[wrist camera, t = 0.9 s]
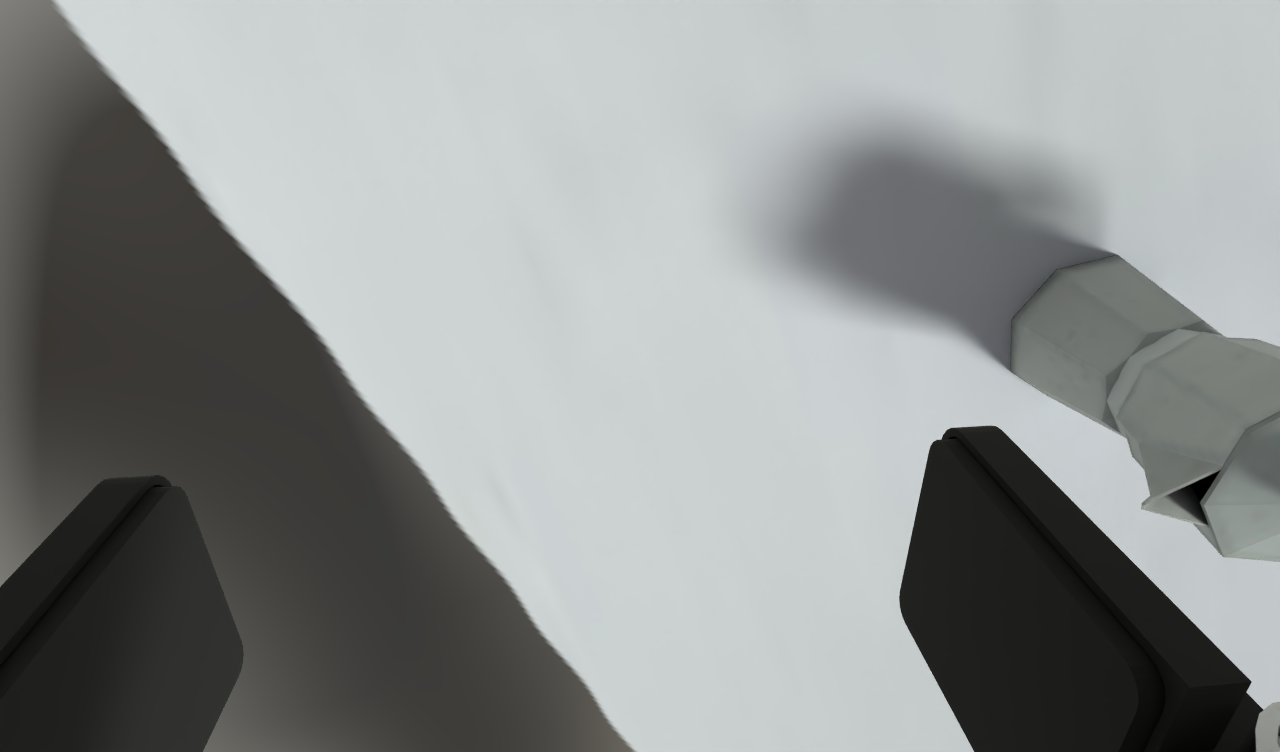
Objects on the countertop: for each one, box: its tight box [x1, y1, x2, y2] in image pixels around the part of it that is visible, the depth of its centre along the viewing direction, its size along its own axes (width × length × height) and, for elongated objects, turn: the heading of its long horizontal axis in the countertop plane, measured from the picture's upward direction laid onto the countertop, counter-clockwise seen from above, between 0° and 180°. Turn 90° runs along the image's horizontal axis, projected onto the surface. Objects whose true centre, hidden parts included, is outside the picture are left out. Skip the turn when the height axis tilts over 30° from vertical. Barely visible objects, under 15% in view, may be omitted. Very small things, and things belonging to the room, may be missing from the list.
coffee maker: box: [1011, 255, 1280, 562], centre depth 33 cm, size 15×9×18 cm, turn 102°
